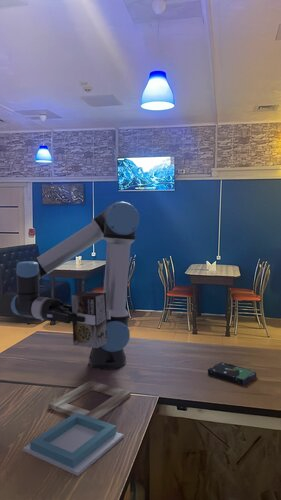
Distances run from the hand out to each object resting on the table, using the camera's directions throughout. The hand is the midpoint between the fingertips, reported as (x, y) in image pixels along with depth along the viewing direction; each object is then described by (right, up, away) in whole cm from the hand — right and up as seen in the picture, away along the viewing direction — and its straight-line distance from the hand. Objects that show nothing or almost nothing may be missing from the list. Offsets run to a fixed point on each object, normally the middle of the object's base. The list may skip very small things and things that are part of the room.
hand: (102, 317), depth 114 cm
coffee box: (-4, -9, +3) cm, 10 cm away
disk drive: (+46, -27, +25) cm, 58 cm away
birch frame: (-4, -28, +5) cm, 28 cm away
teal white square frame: (-5, -29, -18) cm, 35 cm away
